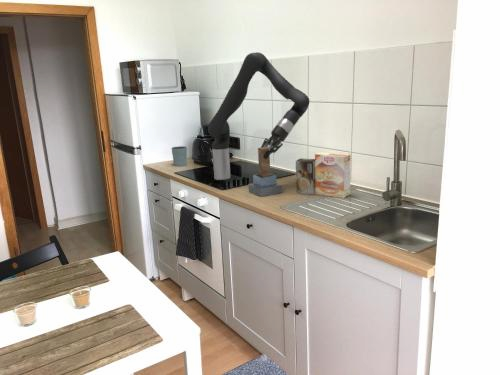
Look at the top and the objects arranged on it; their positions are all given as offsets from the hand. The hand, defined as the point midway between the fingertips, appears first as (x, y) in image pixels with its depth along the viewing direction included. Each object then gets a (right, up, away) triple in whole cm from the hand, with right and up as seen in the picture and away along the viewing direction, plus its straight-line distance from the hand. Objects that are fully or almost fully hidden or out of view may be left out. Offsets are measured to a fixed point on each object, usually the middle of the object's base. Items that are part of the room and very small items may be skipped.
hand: (262, 157), depth 205 cm
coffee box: (+22, -17, +1) cm, 28 cm away
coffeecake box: (+33, -18, -4) cm, 38 cm away
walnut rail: (+1, -9, +3) cm, 10 cm away
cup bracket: (+2, -17, +5) cm, 18 cm away
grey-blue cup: (-52, 0, +81) cm, 96 cm away
